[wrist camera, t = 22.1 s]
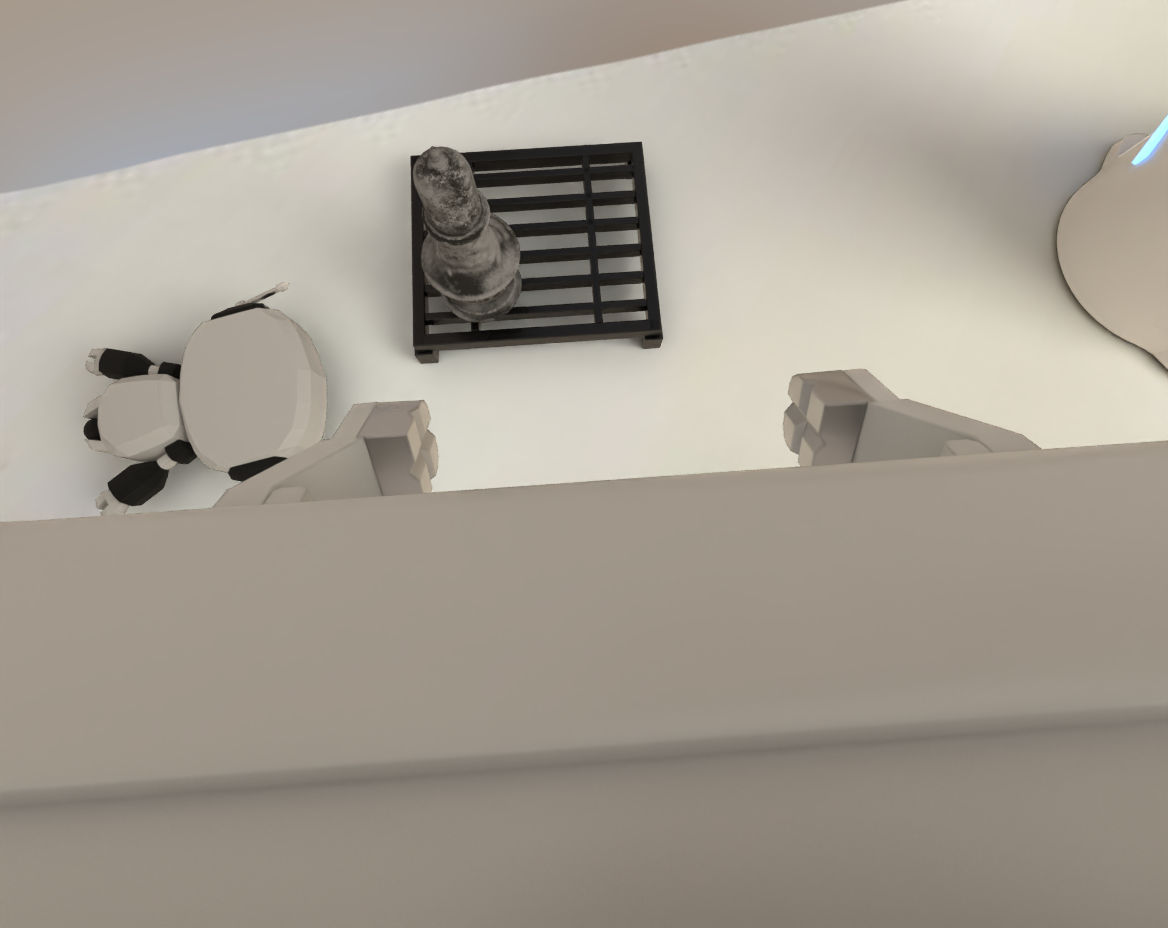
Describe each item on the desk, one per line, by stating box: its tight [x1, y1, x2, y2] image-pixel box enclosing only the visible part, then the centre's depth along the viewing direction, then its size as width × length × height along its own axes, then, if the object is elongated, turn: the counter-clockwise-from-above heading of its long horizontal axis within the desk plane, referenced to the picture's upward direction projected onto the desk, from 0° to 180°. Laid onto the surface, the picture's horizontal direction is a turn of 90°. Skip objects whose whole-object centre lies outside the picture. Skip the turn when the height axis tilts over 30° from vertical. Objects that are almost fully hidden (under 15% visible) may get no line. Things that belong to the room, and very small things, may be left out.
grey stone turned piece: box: [413, 146, 522, 323], centre depth 31 cm, size 6×6×12 cm
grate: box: [411, 142, 663, 364], centre depth 38 cm, size 16×14×2 cm
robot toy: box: [83, 283, 327, 516], centre depth 35 cm, size 12×4×15 cm
